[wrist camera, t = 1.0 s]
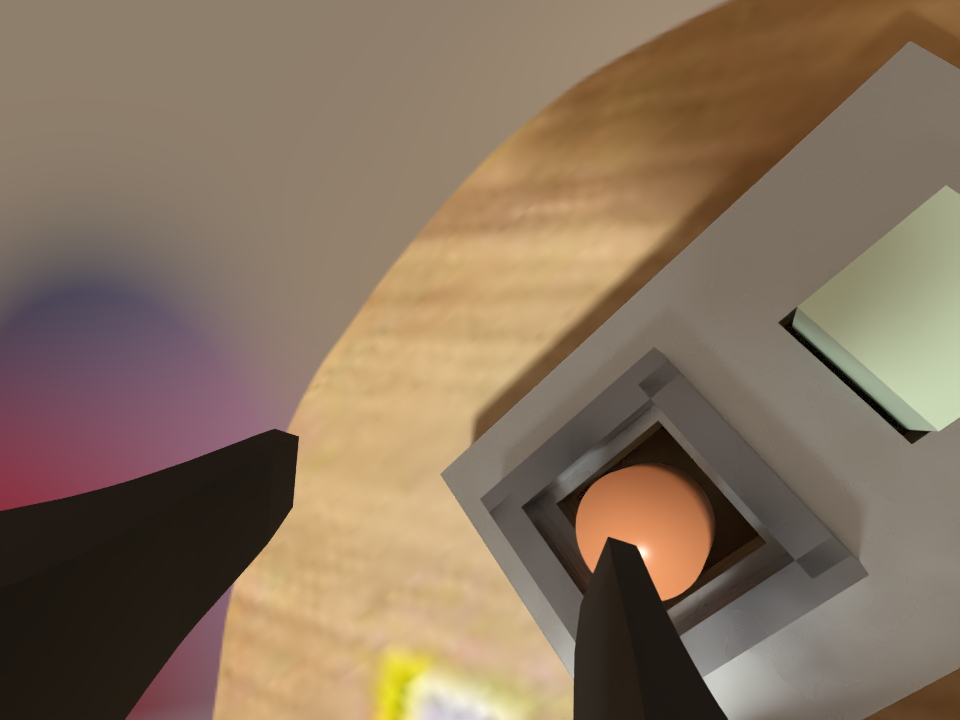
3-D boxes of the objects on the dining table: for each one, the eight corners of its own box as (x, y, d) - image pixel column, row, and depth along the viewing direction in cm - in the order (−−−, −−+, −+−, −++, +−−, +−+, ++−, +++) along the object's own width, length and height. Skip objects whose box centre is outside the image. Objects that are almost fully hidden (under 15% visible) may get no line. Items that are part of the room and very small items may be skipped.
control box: (1380, 387, 13) (1620, 372, 9) (677, 778, 19) (656, 861, 16) (893, 85, 18) (924, 2, 15) (468, 469, 25) (417, 477, 21)
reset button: (742, 535, 18) (738, 554, 15) (649, 599, 19) (631, 627, 16) (660, 439, 19) (643, 442, 17) (578, 505, 20) (552, 517, 18)
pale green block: (1048, 330, 15) (1125, 305, 12) (905, 429, 16) (938, 431, 13) (911, 230, 17) (945, 185, 13) (791, 327, 18) (797, 306, 15)
